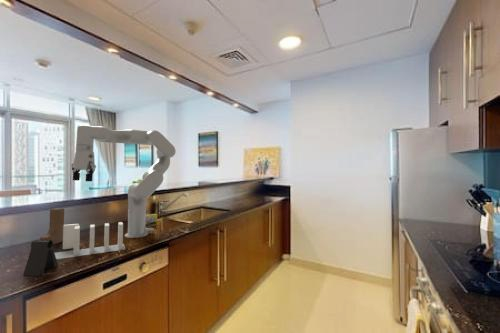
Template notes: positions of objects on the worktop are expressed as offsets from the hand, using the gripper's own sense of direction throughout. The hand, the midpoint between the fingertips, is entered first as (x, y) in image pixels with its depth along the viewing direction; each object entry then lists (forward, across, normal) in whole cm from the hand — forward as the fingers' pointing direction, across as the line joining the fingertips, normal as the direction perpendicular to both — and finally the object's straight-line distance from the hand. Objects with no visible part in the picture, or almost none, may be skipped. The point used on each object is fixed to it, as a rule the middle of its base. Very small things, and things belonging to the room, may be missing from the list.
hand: (82, 180), depth 127 cm
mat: (+33, -16, +6) cm, 37 cm away
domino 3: (+33, -17, +5) cm, 37 cm away
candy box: (+32, -3, -43) cm, 54 cm away
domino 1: (+34, -3, +6) cm, 34 cm away
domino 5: (+32, -24, -5) cm, 41 cm away
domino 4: (+32, -20, 0) cm, 38 cm away
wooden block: (+34, +13, +4) cm, 37 cm away
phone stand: (+34, -20, +27) cm, 48 cm away
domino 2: (+33, -13, +10) cm, 37 cm away
